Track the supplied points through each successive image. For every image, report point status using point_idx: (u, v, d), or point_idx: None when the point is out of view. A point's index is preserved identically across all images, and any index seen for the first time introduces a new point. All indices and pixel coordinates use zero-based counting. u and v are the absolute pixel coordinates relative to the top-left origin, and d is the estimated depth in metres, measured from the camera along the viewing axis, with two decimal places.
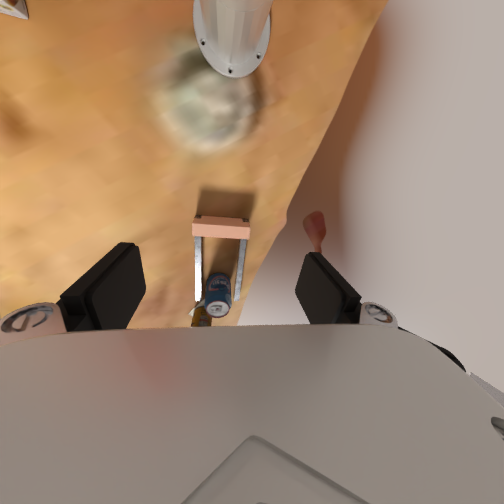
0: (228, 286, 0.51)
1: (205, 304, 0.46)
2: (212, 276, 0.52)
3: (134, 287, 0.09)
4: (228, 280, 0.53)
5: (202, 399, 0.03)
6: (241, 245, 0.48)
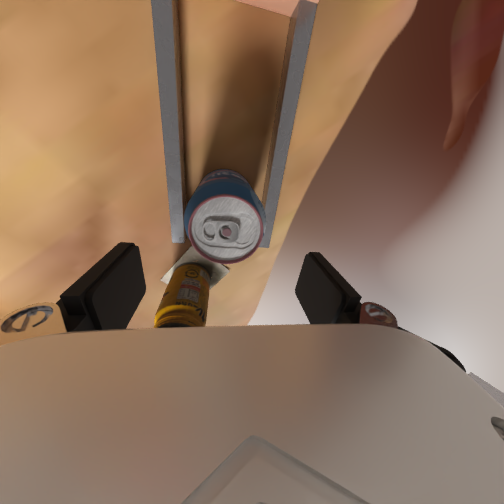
0: None
1: (187, 216, 0.14)
2: (210, 173, 0.21)
3: (134, 287, 0.09)
4: None
5: (202, 399, 0.03)
6: (294, 58, 0.17)
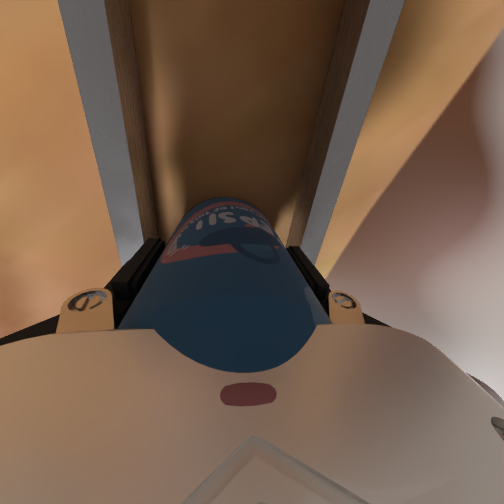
0: None
1: None
2: (198, 206, 0.11)
3: None
4: None
5: (202, 399, 0.03)
6: None
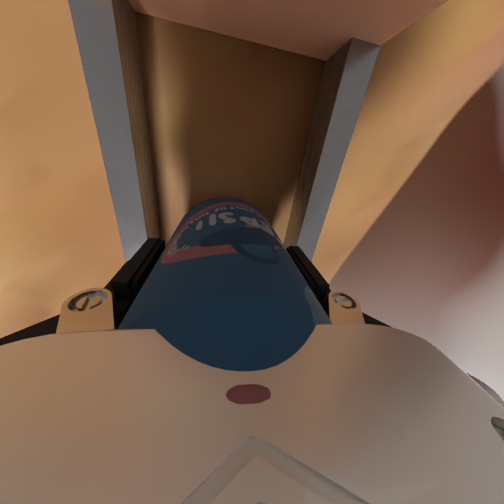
0: (285, 248, 0.09)
1: None
2: (198, 207, 0.11)
3: None
4: None
5: (202, 399, 0.03)
6: (334, 129, 0.10)
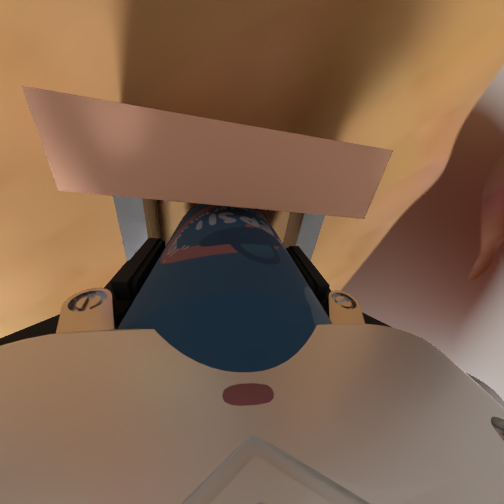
0: None
1: None
2: (198, 207, 0.11)
3: None
4: None
5: (202, 399, 0.03)
6: None
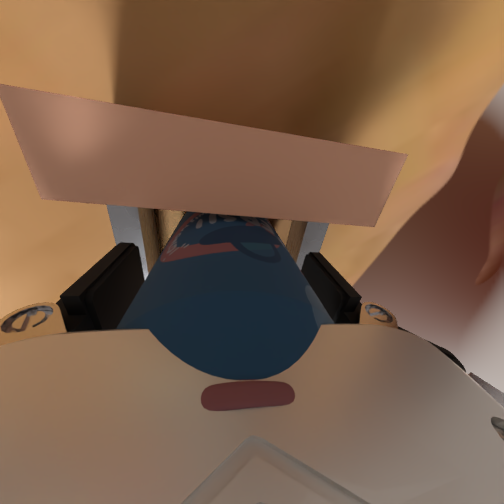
0: None
1: None
2: None
3: (134, 287, 0.09)
4: None
5: None
6: (303, 254, 0.13)
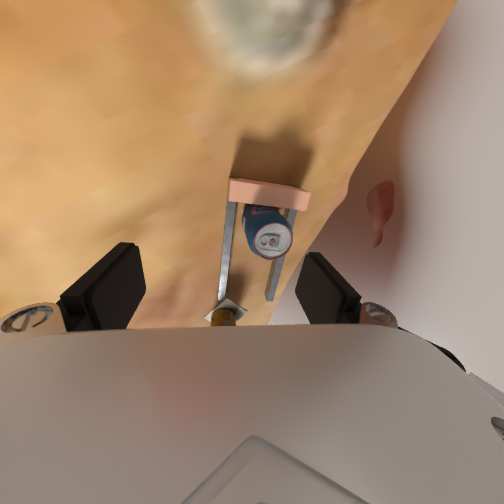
0: None
1: (251, 232, 0.26)
2: (253, 204, 0.33)
3: (134, 287, 0.09)
4: None
5: (202, 399, 0.03)
6: None
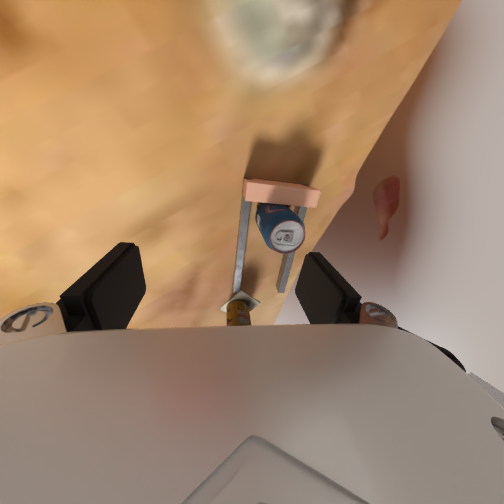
0: None
1: (267, 229, 0.29)
2: None
3: (134, 287, 0.09)
4: None
5: (202, 399, 0.03)
6: None
